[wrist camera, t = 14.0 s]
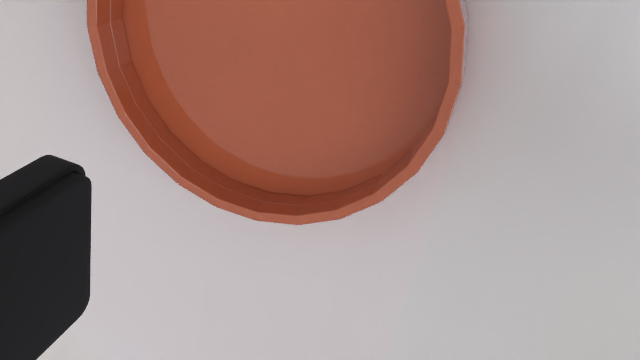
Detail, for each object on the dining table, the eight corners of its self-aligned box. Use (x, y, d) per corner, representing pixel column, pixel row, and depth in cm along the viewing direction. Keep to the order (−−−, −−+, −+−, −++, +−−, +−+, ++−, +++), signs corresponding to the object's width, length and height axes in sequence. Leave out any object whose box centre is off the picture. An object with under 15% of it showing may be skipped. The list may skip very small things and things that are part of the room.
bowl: (529, -120, 24) (533, -122, 21) (405, 240, 33) (397, 269, 31) (125, -214, 27) (85, -225, 24) (116, 144, 36) (86, 163, 34)
